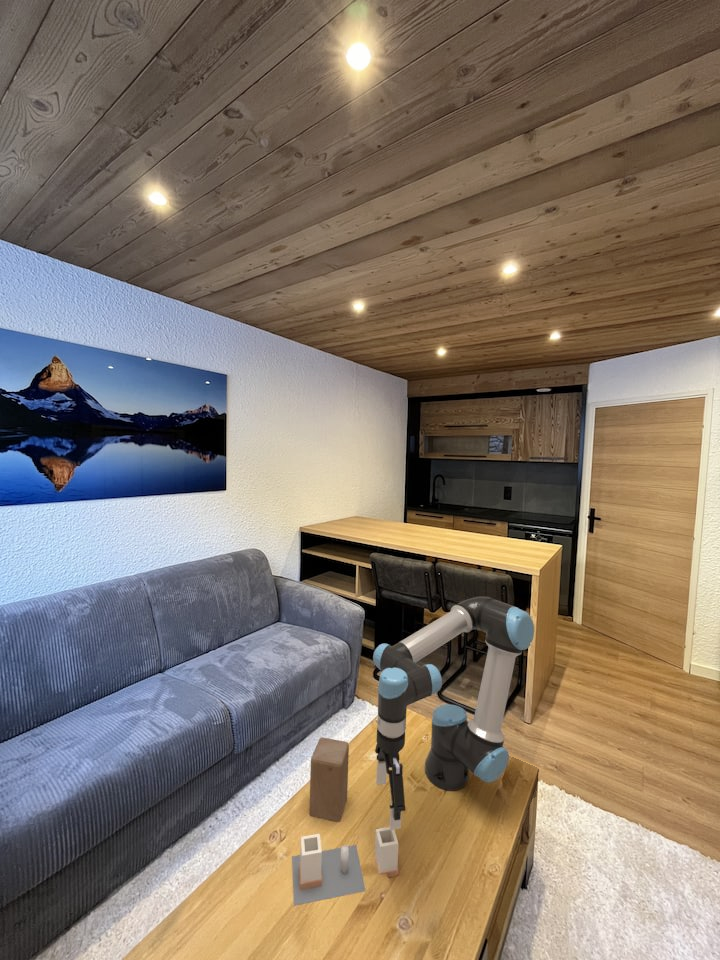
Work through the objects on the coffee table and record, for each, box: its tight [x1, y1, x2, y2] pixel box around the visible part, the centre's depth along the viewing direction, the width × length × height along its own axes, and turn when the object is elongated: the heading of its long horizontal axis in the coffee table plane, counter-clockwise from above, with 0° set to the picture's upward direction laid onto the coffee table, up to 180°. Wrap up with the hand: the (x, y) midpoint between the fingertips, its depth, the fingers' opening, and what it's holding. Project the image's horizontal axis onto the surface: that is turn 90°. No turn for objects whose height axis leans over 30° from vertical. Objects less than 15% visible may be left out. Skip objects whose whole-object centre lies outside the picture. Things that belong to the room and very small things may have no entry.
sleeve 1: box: [299, 833, 323, 890], centre depth 104 cm, size 6×6×9 cm
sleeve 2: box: [373, 826, 399, 879], centre depth 108 cm, size 6×6×9 cm
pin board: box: [291, 844, 366, 906], centre depth 105 cm, size 18×12×8 cm, turn 102°
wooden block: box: [309, 737, 350, 823], centre depth 125 cm, size 10×10×20 cm
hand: (387, 804), depth 107 cm, fingers open, 13 cm apart
